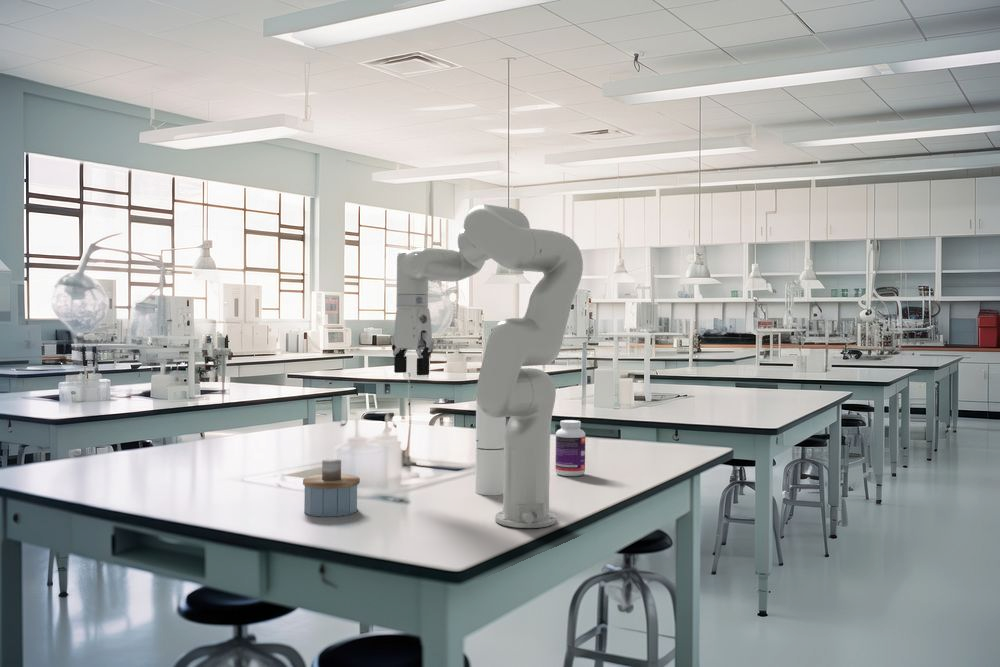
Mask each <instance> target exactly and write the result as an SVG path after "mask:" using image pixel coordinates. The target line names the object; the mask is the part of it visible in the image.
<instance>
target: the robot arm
mask: <svg viewBox="0 0 1000 667" xmlns="http://www.w3.org/2000/svg"><path fill="white" fill-rule="evenodd" d="M530 226H531V225H530V221H529V219H528V217H527V216H526V215H525V213H523V212H522V211H520V210H518V209H516V208H512V207H509V206H507V207H506V206H499V205H493V204H480V205H477V206H474V207H473V208H472V209H470V211H468V213H467V214H466V216H465V217H464V222H463V228H462V229H461V230H460V231H459V234H458V236H457V247H458V248H457V249H444V248H430V247H420V248H415V249H412V250H403V251H400V252H398V253H397V256H396V257H397V258H396V313H395V318H394V332H393V333H394V334H393V335H392V336H391V337H390V343H391V350H392V355H393V356H394V358H393V359H394V363H393V365H394V366H393V367H394V368H393V369H394V370H393V372H394V373H395V374H399V373H407V364H408V362H407V360H408V358H407V355H406V353H407V352H408V350H409V351H410V350H411V351H414V350H415V352H416V354H417V358H416V375H417V376H429V375H430V359H431V357H432V353H433V351H434V350H433V348H434V345H435V339H434V338H433V337H432V336H433V335H432V334H433V332H432V319H431V311H430V308H429V282H435V281H436V282H448V283H449V282H451V283H452V282H453V283H454V282H459V281H463V280H465V279H467V278H469V277H472V276H474V275H476V274H477V273H479V272H480V271H481V270H482V268H483V266H484V264H485V263H486V261H488V260H490V259H492V260H493V261H494V262H496V263H497V264H499V265H500V266H502V267H504V268H506V269H508V270H511V271H516V272H517V271H519V272H520V271H521V272H536V273H542V274H543V277H542V278H541V279H540V280H539V281H538V282H537V284H536V285H535V286H534V288H533V290H532V292H531V294H530V296H529V300H528V304H527V308H526V310H525V313H524V314H525V315H524V316H523V317H522V318H521V317H518V318H516V317H515V318H506V319H503V320H501V321H500V322H498V323H497V324H495V326H494V327H493V328H492V329H491V331H490V333H489V336H488V339H487V343H486V344H485V350H484V353H483V358H482V362H481V366H480V370H479V375H478V379H477V384H476V388H477V390H476V394H475V397H477V403H478V406H479V408H480V409H481V411H482V412H483V413H484V414H485V415H487V416H490V417H494V418H501V417H506V418H509V420H508V422H507V424H506V430H505V435H504V476H503V494H502V498H503V499H502V510H501V511H499V512H497V513H496V514H495V516H494V517H495V519H494V520H495V522H496V523H497V524H500V525H501V526H504V527H505V526H506V527H511V528H517V529H518V528H519V529H538V528H540V529H541V528H545V527H550V526H552V525H554V524H556V523H557V515H556V514H554V513H553V512H550V473H551V472H550V469H551V468H550V465H551V464H550V462H551V429H552V428H551V425H552V418H553V417H552V416H553V412H554V407H555V402H556V397H557V396H556V394H557V393H556V385H555V382H554V379H553V378H552V377H551V376H550V374H548V373H547V372H546V371H544V370H542V369H538V368H529V367H531V366H532V367H533V366H536V367H537V366H545V365H549V364H552V363H553V362H555V361H556V359H557V358H558V356H559V353H560V351H561V348H562V344H563V341H564V338H565V337H564V336H565V333H566V330H567V325H568V321H569V318H570V315H571V314H570V313H571V309H572V305H573V301H574V298H575V296H576V294H577V291H578V288H579V285H580V284H581V280H582V275H583V270H584V269H583V268H584V261H583V256H582V252H581V250H580V247H579V245H578V244H577V242H576V241H575V240H574V239H573V238H571V237H570V236H568V235H566V234H564V233H561V232H558V231H553V230H547V229H541V228H540V229H539V228H538V229H536V228H530ZM522 367H527V368H522Z"/></svg>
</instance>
